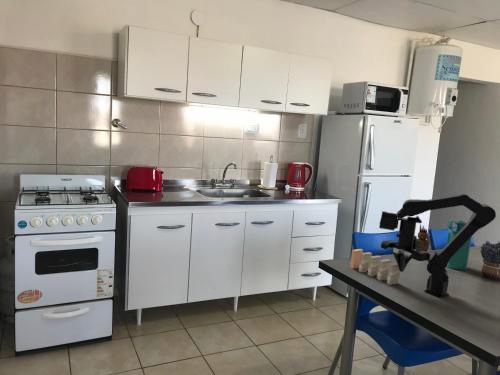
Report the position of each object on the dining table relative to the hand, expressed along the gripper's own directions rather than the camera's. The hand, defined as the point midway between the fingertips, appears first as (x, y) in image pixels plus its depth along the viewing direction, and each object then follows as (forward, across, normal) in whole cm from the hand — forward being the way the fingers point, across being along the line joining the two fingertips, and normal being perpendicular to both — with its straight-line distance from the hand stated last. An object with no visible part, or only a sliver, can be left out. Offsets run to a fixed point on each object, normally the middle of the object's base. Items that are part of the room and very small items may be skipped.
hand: (401, 271), depth 163 cm
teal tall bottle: (+6, +8, -49) cm, 50 cm away
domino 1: (+6, +23, 0) cm, 24 cm away
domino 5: (+6, +3, 0) cm, 7 cm away
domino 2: (+6, +18, 0) cm, 19 cm away
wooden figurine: (+6, +29, -53) cm, 61 cm away
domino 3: (+6, +13, 0) cm, 15 cm away
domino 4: (+6, +8, 0) cm, 10 cm away
